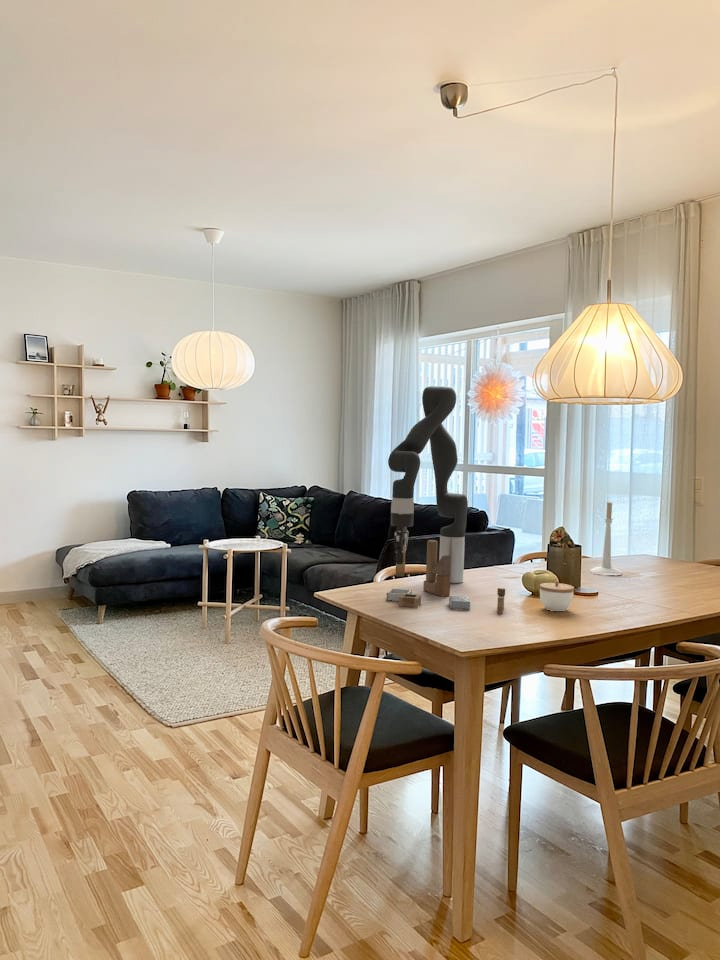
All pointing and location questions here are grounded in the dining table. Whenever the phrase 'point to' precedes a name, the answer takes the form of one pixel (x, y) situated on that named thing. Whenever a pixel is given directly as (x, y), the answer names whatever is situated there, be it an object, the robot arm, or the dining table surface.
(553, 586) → the lidded jar
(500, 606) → the block
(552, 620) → the dining table surface
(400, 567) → the dowel
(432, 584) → the tan angled wooden part
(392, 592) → the tray
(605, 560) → the candlestick
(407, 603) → the socket block
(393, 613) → the dining table surface
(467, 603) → the grey rectangular block
